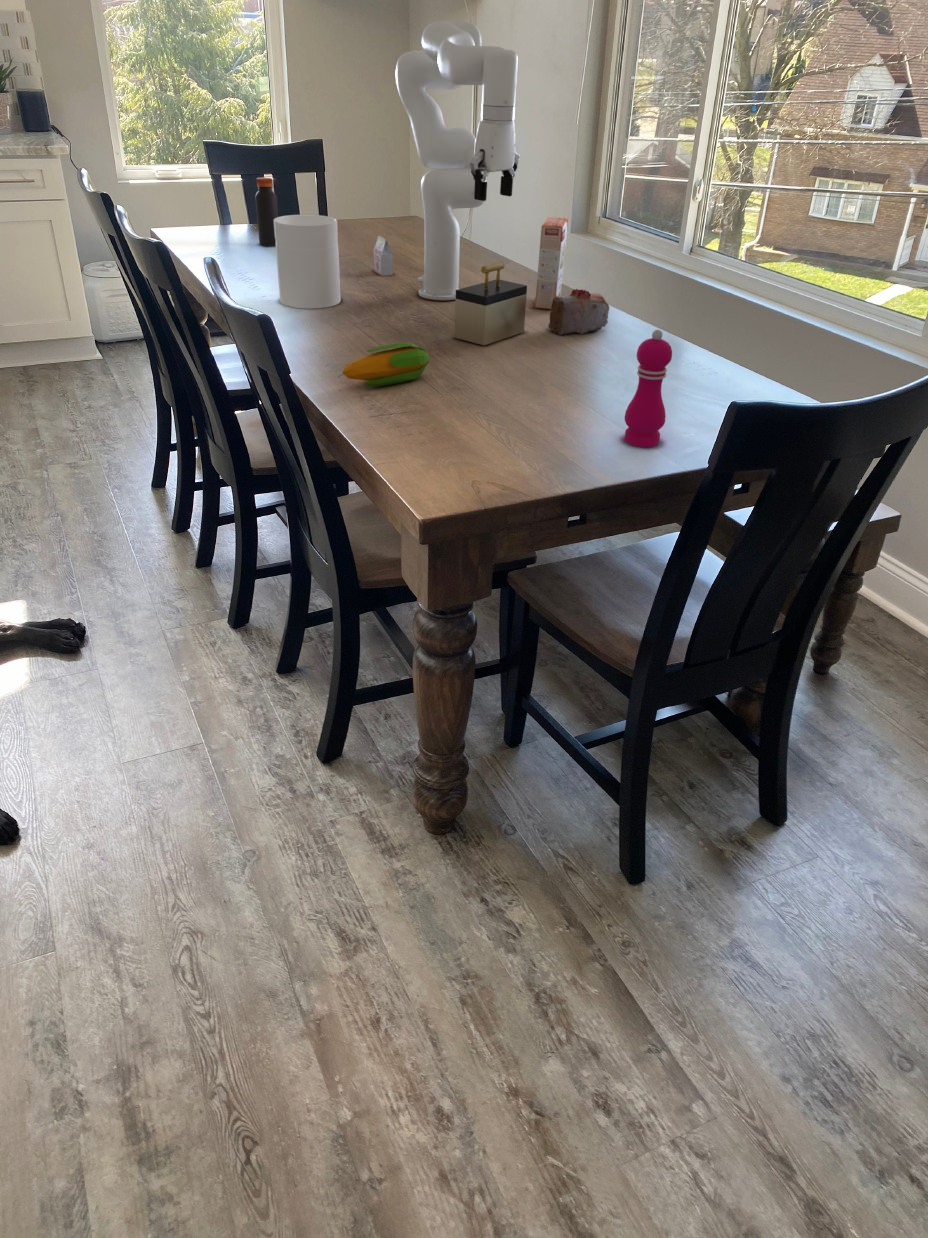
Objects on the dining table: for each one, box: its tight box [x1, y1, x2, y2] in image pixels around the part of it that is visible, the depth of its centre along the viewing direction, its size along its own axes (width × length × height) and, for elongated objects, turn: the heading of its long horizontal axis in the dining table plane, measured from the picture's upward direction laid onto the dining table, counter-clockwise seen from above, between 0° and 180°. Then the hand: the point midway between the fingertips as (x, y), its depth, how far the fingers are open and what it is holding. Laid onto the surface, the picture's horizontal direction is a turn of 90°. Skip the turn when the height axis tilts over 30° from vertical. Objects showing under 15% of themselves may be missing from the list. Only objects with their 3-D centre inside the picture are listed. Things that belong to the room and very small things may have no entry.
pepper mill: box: [624, 329, 673, 448], centre depth 156 cm, size 7×7×20 cm
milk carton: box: [372, 234, 394, 277], centre depth 265 cm, size 4×7×10 cm, turn 24°
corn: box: [341, 341, 430, 387], centre depth 183 cm, size 7×8×20 cm
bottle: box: [254, 177, 279, 247], centre depth 292 cm, size 7×7×20 cm
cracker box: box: [534, 216, 569, 310], centre depth 237 cm, size 14×6×21 cm, turn 168°
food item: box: [548, 288, 610, 335], centre depth 219 cm, size 14×8×10 cm, turn 118°
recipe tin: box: [454, 261, 528, 346], centre depth 211 cm, size 16×16×9 cm
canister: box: [274, 214, 342, 310], centre depth 232 cm, size 16×16×20 cm
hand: (493, 197), depth 209 cm, fingers open, 9 cm apart
